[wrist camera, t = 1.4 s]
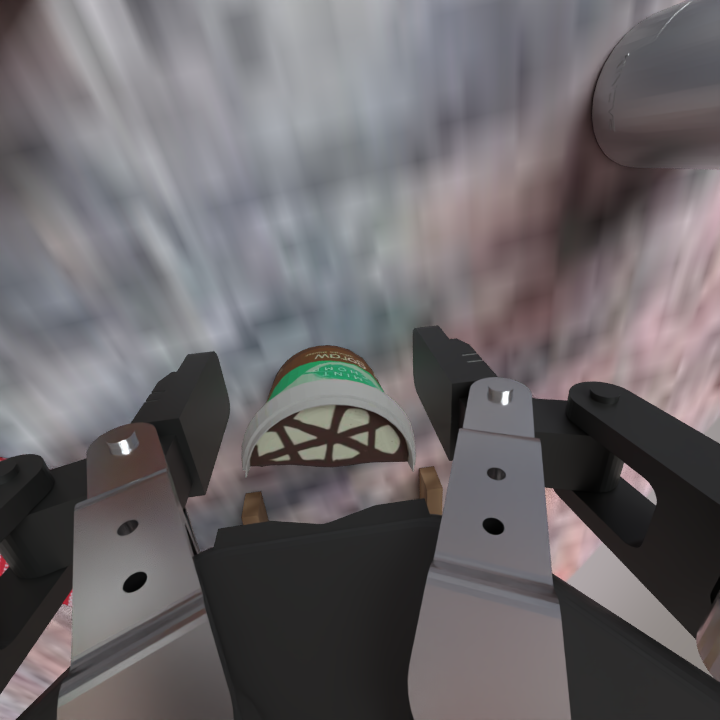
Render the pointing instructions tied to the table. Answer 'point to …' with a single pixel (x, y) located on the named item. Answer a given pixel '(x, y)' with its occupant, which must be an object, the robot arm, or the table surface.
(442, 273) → the table surface
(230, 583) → the robot arm
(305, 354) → the food container
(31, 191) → the table surface
